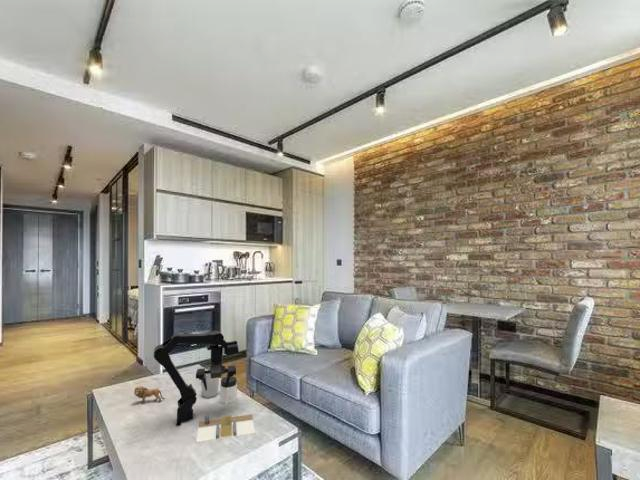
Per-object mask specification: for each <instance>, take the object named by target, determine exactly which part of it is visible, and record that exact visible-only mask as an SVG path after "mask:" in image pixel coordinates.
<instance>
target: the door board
mask: <svg viewBox="0 0 640 480" xmlns="http://www.w3.org/2000/svg"><path fill="white" fill-rule="evenodd" d="M210 418H211V417H210V413H205V414H204V420H203V421H199V422H198V428H197V429H198V430H197V434H196V441H195V442H196V443H200V442H206V441H213V440H219V439H225V438H232V437H237V436H238V437H239V436H243V435H244V436H245V435H249V434H256V432H255V426H254V425H255V424H254V423H255V422H254V417H253V414H251V413H250V414H244V415H239V416H237V415H236V416H232V435H231V436H225V437H221V418H217V419H210Z"/></svg>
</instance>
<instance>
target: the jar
mask: <svg viewBox="0 0 640 480" xmlns="http://www.w3.org/2000/svg"><path fill="white" fill-rule="evenodd" d="M226 378H227V376H225V377H222V378H221V379H220V386H219V389H220V390H219V394H220V395H219V402H220V403H221V404H224V405H228V404H232V403H235V402H236V401H237V399H238V395H237V394H238V381H237V377H235V376H232V377H231V378H230V380H229V382H228V385H227V388H226Z"/></svg>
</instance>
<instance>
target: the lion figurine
mask: <svg viewBox="0 0 640 480" xmlns="http://www.w3.org/2000/svg"><path fill="white" fill-rule="evenodd" d="M133 394H134V396H135V397H136V398H137V397H138V399H142V400H141V405H145V403H146V398H150V397H153V396H154V397H155V398H154V401H158V403H161V402H162V400H165V399H166V398H165V397H163V394H162V391H161V390H160V389H159V388H152V389H149V388H147V387H144V386H141V385H140V386H136V387H135V388H134V392H133Z"/></svg>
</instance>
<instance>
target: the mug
mask: <svg viewBox="0 0 640 480" xmlns="http://www.w3.org/2000/svg"><path fill="white" fill-rule="evenodd" d="M219 379H220V378H211V374H208V375H206V381H207V391H206V389H205V387H204V384H203V382H202V380H200V385H201V392H202V396H203V397H204V398H209V399H210V398H213V397H216V395H217V394H218V390H219V381H220V380H219Z"/></svg>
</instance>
